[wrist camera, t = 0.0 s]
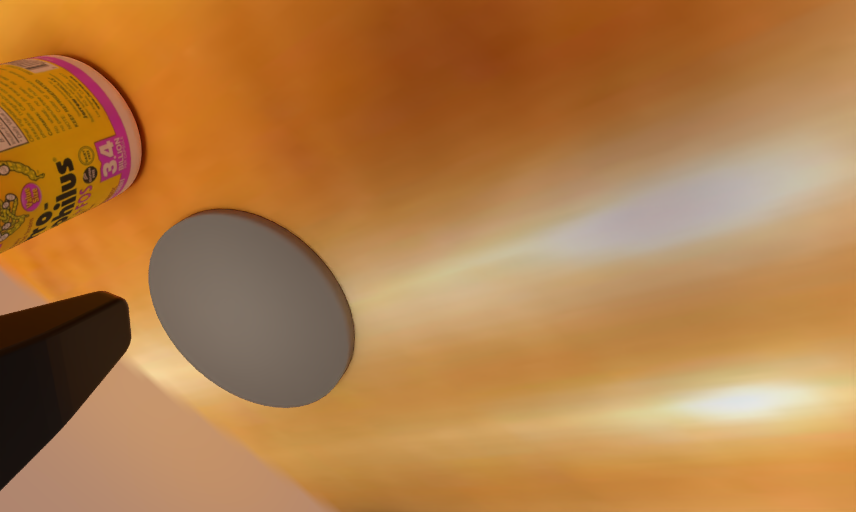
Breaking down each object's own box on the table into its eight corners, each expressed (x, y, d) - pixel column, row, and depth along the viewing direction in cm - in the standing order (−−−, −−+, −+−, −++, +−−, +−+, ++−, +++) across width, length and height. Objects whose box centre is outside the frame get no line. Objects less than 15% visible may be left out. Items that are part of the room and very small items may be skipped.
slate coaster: (340, 426, 32) (333, 437, 31) (164, 352, 34) (154, 361, 33) (369, 256, 26) (362, 264, 25) (154, 178, 28) (142, 184, 27)
